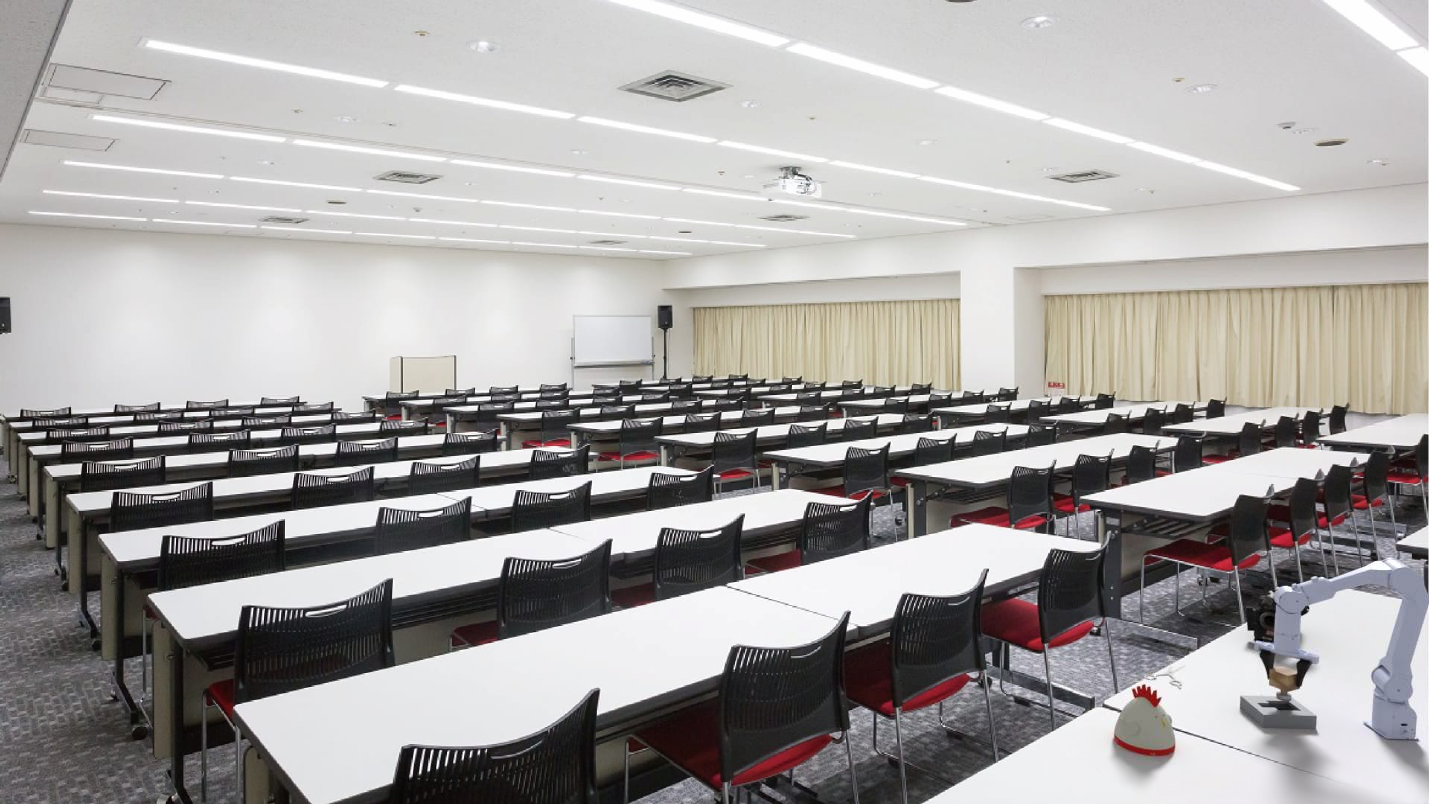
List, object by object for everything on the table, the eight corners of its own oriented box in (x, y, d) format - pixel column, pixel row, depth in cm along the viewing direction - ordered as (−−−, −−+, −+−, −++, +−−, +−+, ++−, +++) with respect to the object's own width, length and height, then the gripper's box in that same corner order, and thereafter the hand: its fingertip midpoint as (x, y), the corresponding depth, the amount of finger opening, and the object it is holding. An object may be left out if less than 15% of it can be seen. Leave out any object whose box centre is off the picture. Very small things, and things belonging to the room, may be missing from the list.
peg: (1299, 700, 239) (1300, 672, 238) (1286, 703, 237) (1288, 675, 236) (1280, 693, 243) (1282, 666, 243) (1268, 696, 241) (1269, 669, 241)
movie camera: (1302, 656, 281) (1303, 600, 280) (1239, 644, 294) (1239, 591, 293) (1328, 635, 303) (1328, 583, 302) (1267, 625, 315) (1267, 575, 315)
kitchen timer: (1147, 760, 219) (1149, 701, 217) (1102, 736, 231) (1103, 680, 230) (1187, 749, 224) (1190, 691, 223) (1141, 726, 237) (1143, 671, 235)
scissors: (1141, 678, 266) (1159, 658, 282) (1141, 681, 267) (1159, 660, 282) (1181, 688, 260) (1197, 666, 275) (1180, 690, 260) (1197, 669, 275)
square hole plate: (1316, 728, 234) (1316, 715, 234) (1263, 727, 235) (1263, 714, 235) (1290, 708, 246) (1290, 696, 246) (1239, 707, 247) (1240, 695, 247)
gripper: (1323, 636, 236) (1321, 686, 237) (1261, 622, 246) (1259, 670, 248) (1315, 642, 231) (1312, 694, 232) (1252, 628, 242) (1250, 677, 243)
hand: (1284, 682), depth 240 cm, fingers closed on peg, 6 cm apart
